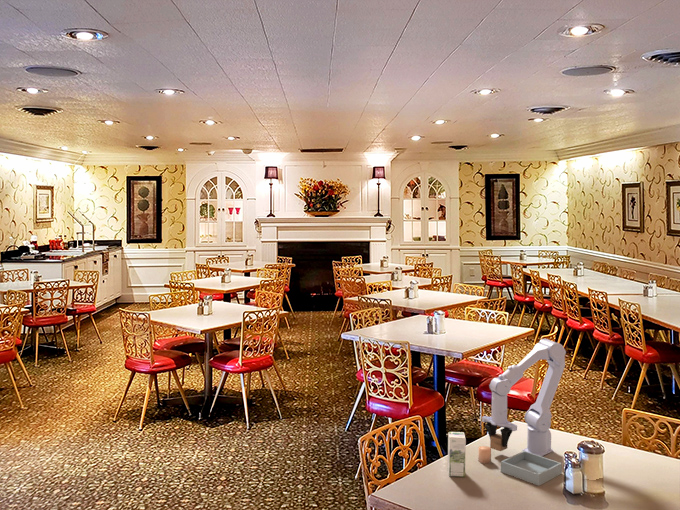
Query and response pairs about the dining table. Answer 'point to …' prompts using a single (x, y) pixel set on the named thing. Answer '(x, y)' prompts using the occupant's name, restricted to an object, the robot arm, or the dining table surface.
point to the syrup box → (456, 454)
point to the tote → (531, 467)
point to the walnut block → (496, 442)
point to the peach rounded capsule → (484, 455)
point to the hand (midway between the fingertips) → (498, 444)
